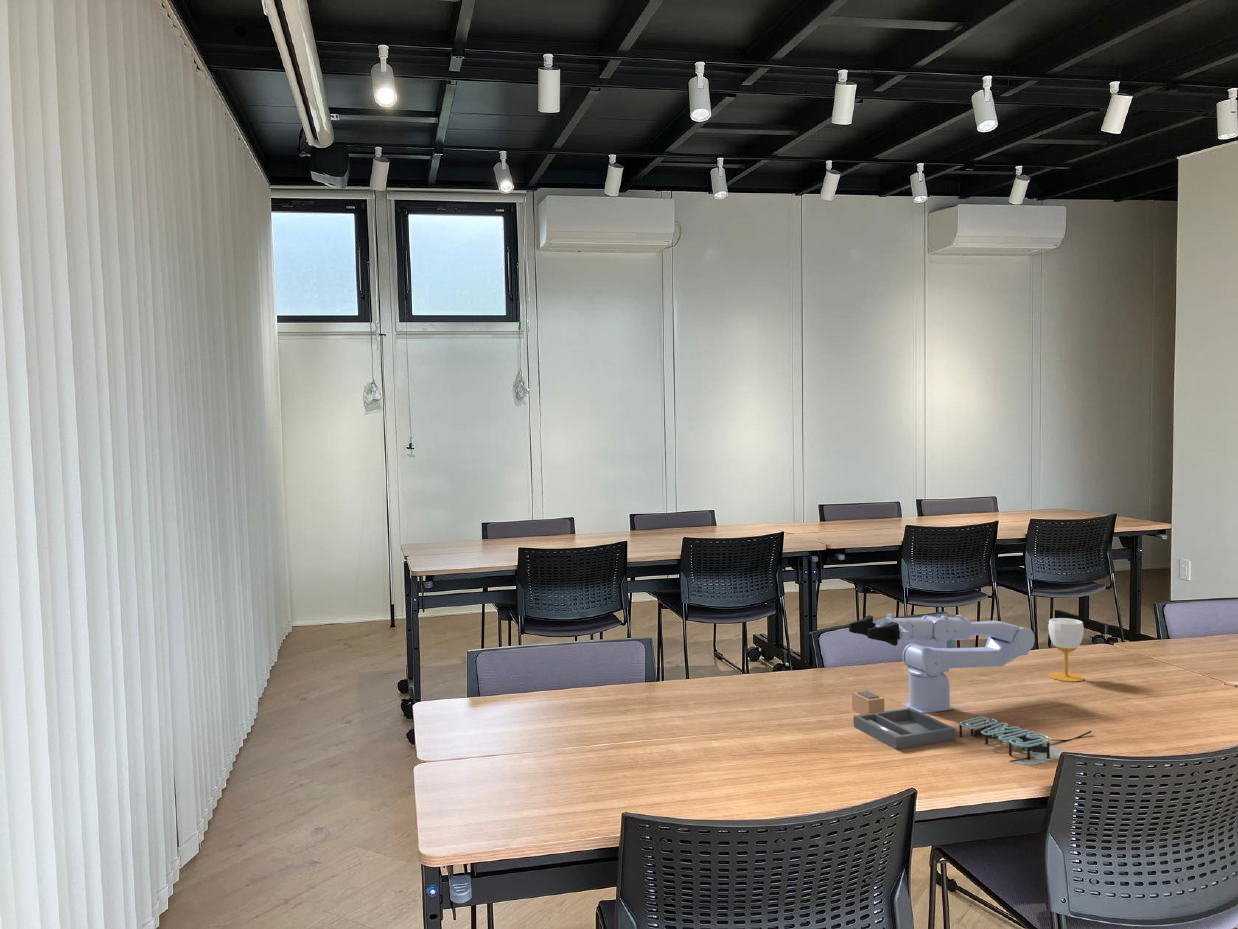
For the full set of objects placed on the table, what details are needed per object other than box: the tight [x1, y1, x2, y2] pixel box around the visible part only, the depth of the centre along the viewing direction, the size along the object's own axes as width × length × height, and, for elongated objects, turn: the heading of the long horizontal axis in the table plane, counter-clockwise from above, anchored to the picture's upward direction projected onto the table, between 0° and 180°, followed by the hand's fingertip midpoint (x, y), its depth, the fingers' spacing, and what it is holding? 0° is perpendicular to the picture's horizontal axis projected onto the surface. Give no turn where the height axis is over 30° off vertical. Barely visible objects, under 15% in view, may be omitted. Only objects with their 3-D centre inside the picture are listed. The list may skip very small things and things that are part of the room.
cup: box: [1047, 617, 1085, 683], centre depth 240 cm, size 9×9×16 cm
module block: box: [851, 690, 885, 715], centre depth 212 cm, size 4×7×5 cm, turn 19°
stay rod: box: [867, 719, 900, 736], centre depth 196 cm, size 12×2×2 cm, turn 19°
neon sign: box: [958, 716, 1093, 766], centre depth 193 cm, size 21×4×29 cm
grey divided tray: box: [853, 707, 957, 750], centre depth 197 cm, size 16×16×3 cm
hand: (858, 630), depth 209 cm, fingers open, 7 cm apart
